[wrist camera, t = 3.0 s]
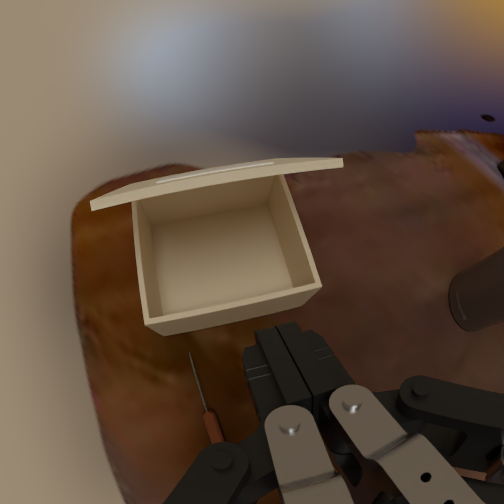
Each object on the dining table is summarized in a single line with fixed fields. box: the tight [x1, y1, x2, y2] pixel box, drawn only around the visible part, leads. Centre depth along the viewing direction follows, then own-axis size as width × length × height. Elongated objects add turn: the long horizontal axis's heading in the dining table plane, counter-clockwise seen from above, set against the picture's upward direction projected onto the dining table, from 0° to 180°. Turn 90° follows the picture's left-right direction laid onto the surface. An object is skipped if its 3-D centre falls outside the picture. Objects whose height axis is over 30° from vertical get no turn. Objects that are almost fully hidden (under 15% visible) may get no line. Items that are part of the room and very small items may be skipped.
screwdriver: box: [189, 352, 225, 444], centre depth 28 cm, size 16×1×2 cm, turn 17°
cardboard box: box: [132, 174, 322, 336], centre depth 32 cm, size 16×14×8 cm
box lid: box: [90, 158, 343, 211], centre depth 24 cm, size 16×14×1 cm
